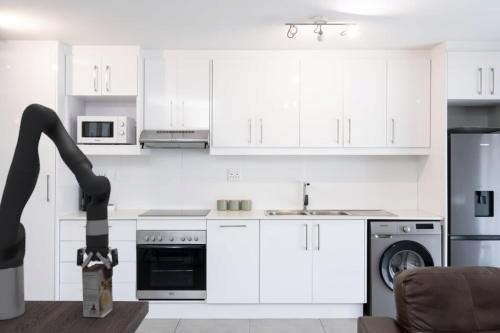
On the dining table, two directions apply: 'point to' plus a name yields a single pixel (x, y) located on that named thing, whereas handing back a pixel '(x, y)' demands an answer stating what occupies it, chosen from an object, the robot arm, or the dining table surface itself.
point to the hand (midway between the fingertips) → (97, 278)
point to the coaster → (103, 314)
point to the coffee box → (96, 290)
